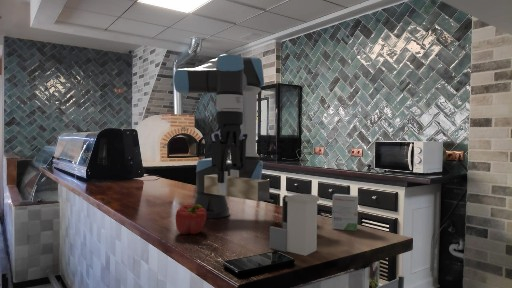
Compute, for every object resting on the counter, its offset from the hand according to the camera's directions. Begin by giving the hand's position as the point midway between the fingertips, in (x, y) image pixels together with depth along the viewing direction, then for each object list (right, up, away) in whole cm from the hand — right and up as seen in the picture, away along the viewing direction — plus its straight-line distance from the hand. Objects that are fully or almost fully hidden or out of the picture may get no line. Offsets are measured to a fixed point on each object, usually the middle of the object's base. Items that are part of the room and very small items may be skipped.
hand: (228, 193), depth 103 cm
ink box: (+39, -16, +25) cm, 49 cm away
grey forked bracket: (+19, -16, 0) cm, 24 cm away
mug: (+23, -16, +34) cm, 44 cm away
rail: (+2, 0, -1) cm, 2 cm away
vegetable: (-13, -15, +16) cm, 26 cm away
